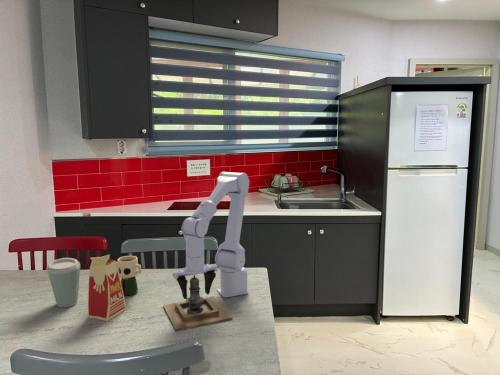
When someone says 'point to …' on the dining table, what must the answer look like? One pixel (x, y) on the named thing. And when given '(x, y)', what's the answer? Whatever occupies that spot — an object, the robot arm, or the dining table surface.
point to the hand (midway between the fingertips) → (196, 295)
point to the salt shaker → (194, 297)
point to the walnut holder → (186, 320)
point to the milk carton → (104, 289)
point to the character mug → (128, 273)
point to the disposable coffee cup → (64, 280)
